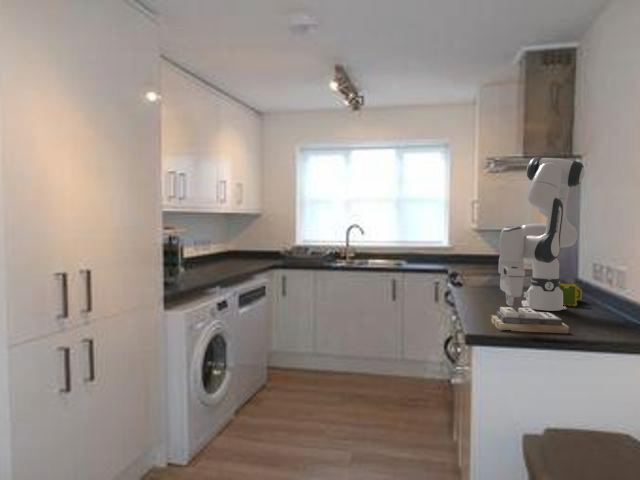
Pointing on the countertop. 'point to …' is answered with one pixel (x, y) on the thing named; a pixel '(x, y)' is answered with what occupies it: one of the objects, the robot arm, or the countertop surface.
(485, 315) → the countertop surface
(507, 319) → the key panel
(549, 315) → the key three
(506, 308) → the key one
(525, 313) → the key two
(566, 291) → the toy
